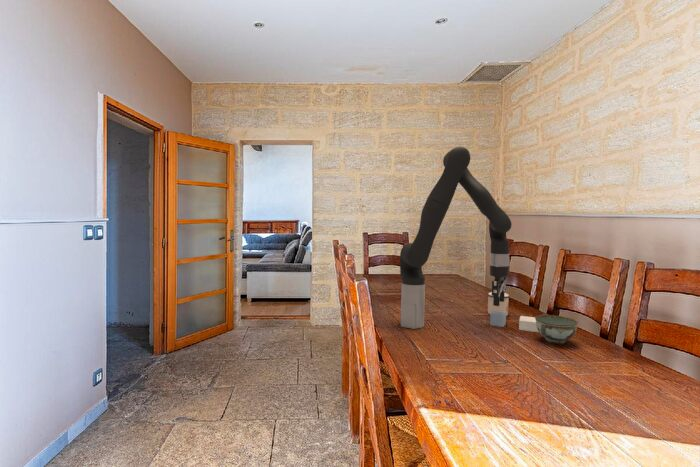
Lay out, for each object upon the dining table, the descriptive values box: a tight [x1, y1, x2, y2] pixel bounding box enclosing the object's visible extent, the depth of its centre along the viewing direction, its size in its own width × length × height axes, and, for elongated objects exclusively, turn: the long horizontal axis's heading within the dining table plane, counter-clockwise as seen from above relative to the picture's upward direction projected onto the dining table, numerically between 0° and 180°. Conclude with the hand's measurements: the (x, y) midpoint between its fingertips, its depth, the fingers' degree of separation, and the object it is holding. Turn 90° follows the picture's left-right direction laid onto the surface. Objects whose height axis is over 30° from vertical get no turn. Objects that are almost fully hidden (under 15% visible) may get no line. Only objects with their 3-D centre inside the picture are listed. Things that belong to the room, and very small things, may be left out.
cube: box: [489, 311, 507, 328], centre depth 158 cm, size 5×5×5 cm
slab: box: [518, 315, 539, 333], centre depth 153 cm, size 8×8×4 cm
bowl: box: [534, 314, 578, 345], centre depth 137 cm, size 14×13×8 cm
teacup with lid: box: [487, 291, 510, 317], centre depth 176 cm, size 12×9×12 cm
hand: (498, 303), depth 158 cm, fingers open, 8 cm apart
